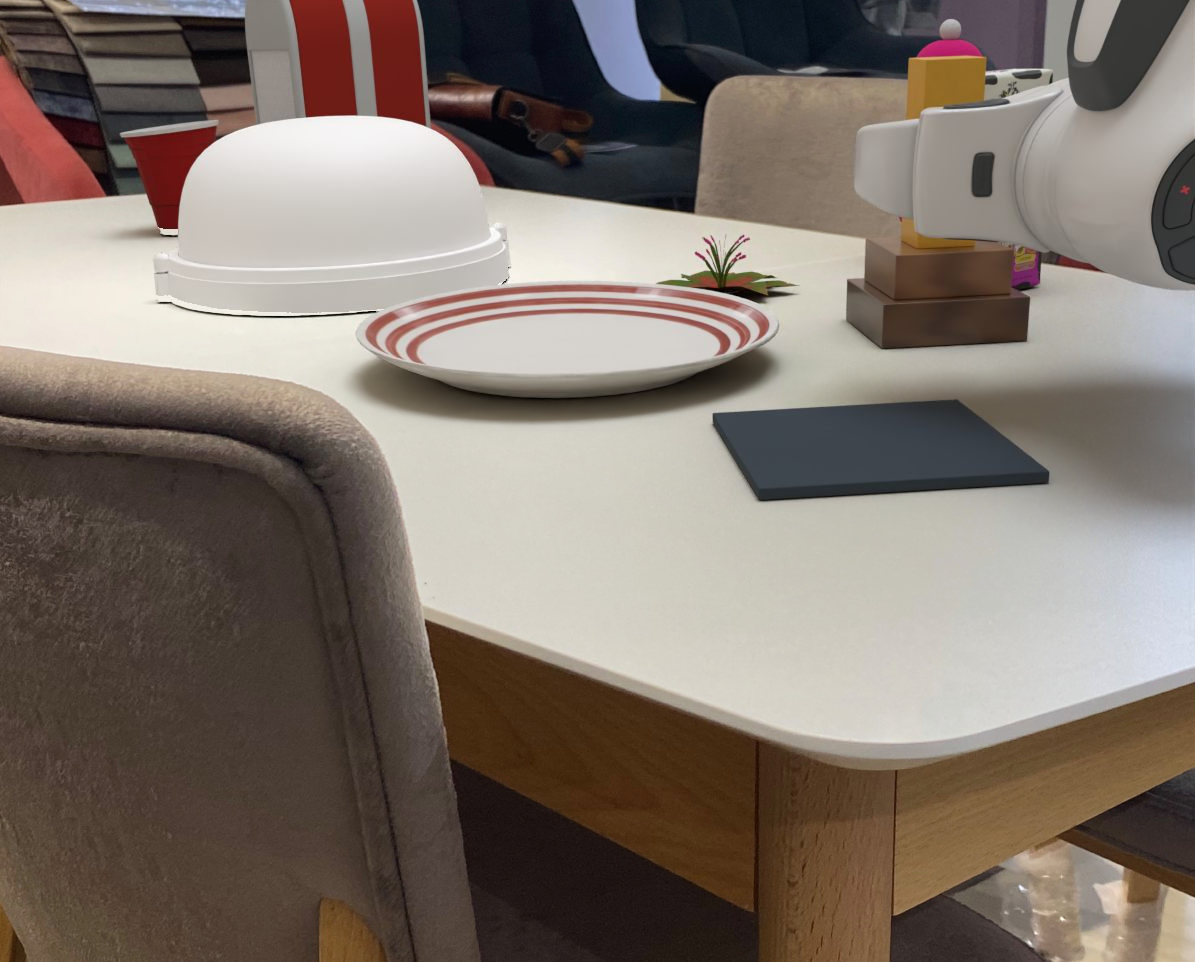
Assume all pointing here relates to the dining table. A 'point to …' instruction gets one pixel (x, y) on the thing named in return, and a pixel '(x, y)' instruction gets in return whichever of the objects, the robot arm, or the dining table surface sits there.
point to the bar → (936, 88)
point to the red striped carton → (337, 59)
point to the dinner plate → (567, 336)
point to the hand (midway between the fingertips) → (994, 145)
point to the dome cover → (330, 219)
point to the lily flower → (726, 275)
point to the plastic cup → (168, 162)
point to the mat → (872, 449)
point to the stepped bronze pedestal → (937, 295)
